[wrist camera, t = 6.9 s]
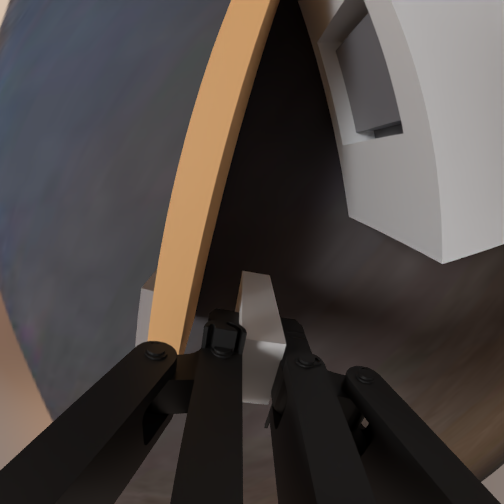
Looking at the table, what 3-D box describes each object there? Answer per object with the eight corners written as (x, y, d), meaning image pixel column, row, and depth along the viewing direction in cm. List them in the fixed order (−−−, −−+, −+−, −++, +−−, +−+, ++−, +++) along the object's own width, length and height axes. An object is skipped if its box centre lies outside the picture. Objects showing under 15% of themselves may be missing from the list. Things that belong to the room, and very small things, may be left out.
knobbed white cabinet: (296, -4, 13) (336, -112, 3) (447, 11, 13) (529, -34, 3) (350, 231, 17) (455, 300, 7) (491, 202, 16) (594, 232, 7)
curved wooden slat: (256, -27, 12) (263, -105, 5) (288, -20, 12) (310, -96, 5) (164, 309, 17) (124, 388, 10) (196, 318, 18) (172, 402, 10)
